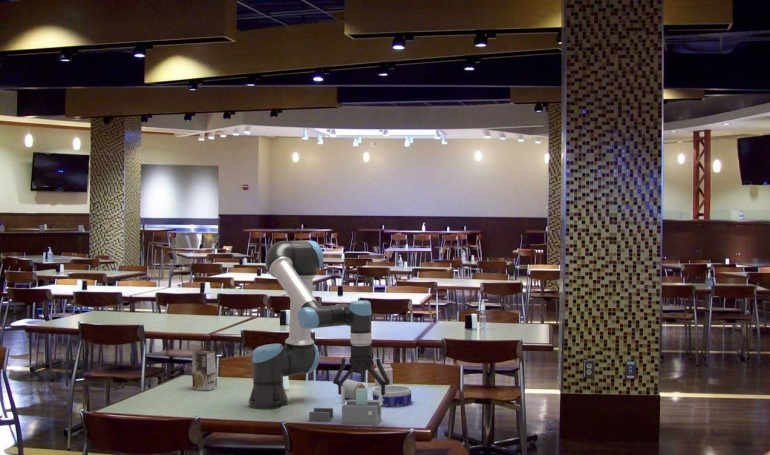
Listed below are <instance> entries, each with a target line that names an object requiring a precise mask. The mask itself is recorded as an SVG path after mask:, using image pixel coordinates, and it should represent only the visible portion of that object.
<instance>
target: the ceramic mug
mask: <svg viewBox="0 0 770 455" xmlns="http://www.w3.org/2000/svg"><path fill="white" fill-rule="evenodd" d="M342 385H345V399H347V400H356V389H357V388H366V386H365V384H364V383H363V382H360V381H356V380H352V379H349V378H347V379H346V380H345V381H344V382H343V384H342Z"/></svg>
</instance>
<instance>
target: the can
mask: <svg viewBox="0 0 770 455" xmlns="http://www.w3.org/2000/svg"><path fill="white" fill-rule="evenodd" d="M381 364H382V363H381ZM382 366H383V368H384V370H385V372H386V374H387V376H388V378H389V380H390V383H389V385H394V383H393V382H394V380H393V379H394V378H393V374H394V373H393V370H394V369H393V368H392V366H391V364H387V363H383V364H382ZM374 370H375V371H376V373H377V374H378V375H379V376H380V377H381V379H382V380H383V381H384V379H383V377H382V375H381V373H380V371H379V369H378V367H377V365H376V364H375V368H374ZM384 382H385V381H384ZM378 386H380V384H379V383H378V381H377V380H376V379H375V378H374V388H375V387H378Z"/></svg>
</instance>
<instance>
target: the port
mask: <svg viewBox="0 0 770 455" xmlns="http://www.w3.org/2000/svg"><path fill="white" fill-rule="evenodd" d="M341 417H342V418H341V421H342V422H341V424H342V425H370V426H371V425H372V426H371V428H377V427H378V425H379V424H380V422H381V421H382V407H381V405H379V400H373V399H368V405H356V400H353V399H347V400H346V404H342V406H341Z"/></svg>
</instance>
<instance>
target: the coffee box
mask: <svg viewBox="0 0 770 455" xmlns="http://www.w3.org/2000/svg"><path fill="white" fill-rule="evenodd" d="M217 358H218V356H217V352H216V351H211V350H210V351H208V350H200V351H195V352H191V369H192V370H191V371H192V372H191V373H192V390H193V389H197V390H196V391H202V390H210V391H212V390H211V389H215V388H217V389H218V373H217V372H218V367H217V364H218V363H217V362H218V360H217ZM215 390H216V389H215Z"/></svg>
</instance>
